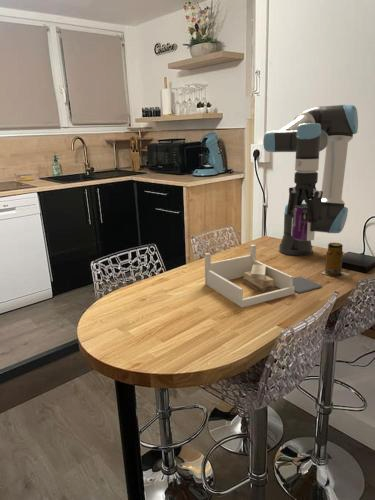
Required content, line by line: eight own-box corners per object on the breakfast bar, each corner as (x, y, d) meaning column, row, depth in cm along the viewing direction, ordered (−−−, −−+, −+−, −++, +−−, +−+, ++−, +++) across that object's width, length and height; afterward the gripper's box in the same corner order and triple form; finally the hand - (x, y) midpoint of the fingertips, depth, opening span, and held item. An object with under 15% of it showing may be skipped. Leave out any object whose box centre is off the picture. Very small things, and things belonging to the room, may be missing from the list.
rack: (252, 273, 154) (253, 244, 150) (294, 293, 133) (296, 261, 130) (205, 283, 144) (204, 253, 141) (241, 307, 124) (242, 272, 120)
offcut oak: (255, 276, 146) (255, 270, 145) (273, 285, 137) (273, 279, 136) (244, 278, 144) (244, 272, 143) (261, 288, 135) (261, 281, 134)
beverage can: (308, 242, 131) (310, 208, 127) (288, 240, 135) (290, 206, 131) (315, 238, 136) (318, 204, 132) (296, 235, 140) (298, 203, 137)
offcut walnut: (253, 281, 147) (253, 275, 147) (274, 291, 137) (274, 285, 137) (242, 284, 145) (242, 278, 144) (263, 294, 135) (263, 288, 134)
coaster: (300, 277, 147) (300, 276, 147) (321, 287, 138) (322, 285, 138) (277, 283, 143) (277, 281, 143) (298, 293, 133) (298, 291, 133)
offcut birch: (265, 271, 144) (265, 265, 143) (264, 281, 135) (264, 274, 134) (252, 270, 145) (252, 264, 144) (250, 280, 136) (250, 273, 135)
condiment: (330, 269, 156) (332, 240, 153) (349, 274, 150) (352, 245, 146) (319, 273, 152) (322, 244, 148) (339, 279, 145) (342, 248, 142)
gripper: (278, 170, 136) (275, 233, 142) (320, 174, 118) (315, 245, 125) (294, 169, 139) (291, 230, 145) (337, 173, 122) (332, 242, 128)
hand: (302, 237), depth 135 cm, fingers closed on beverage can, 7 cm apart
